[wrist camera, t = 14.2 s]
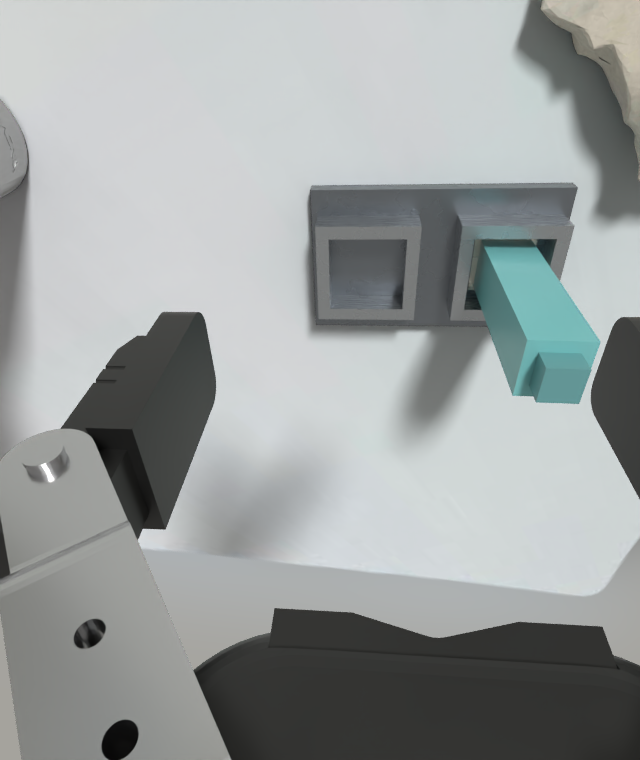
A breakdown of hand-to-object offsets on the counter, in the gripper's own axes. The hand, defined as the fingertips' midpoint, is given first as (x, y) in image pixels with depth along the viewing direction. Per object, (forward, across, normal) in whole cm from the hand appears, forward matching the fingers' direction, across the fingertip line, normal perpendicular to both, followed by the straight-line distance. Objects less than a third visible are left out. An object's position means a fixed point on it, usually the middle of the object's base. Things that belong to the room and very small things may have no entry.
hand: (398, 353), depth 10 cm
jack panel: (+33, -5, +12) cm, 36 cm away
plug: (+32, -10, +12) cm, 36 cm away
